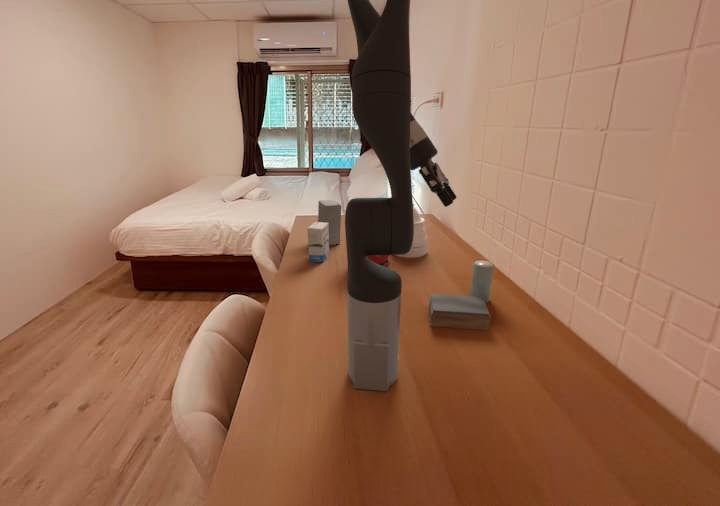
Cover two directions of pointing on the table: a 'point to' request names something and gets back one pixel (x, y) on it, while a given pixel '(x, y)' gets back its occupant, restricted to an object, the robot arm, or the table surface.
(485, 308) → the dark grey slab
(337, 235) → the skincare box
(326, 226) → the ink box
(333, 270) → the table surface
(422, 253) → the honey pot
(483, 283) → the ceramic tumbler
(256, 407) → the table surface
